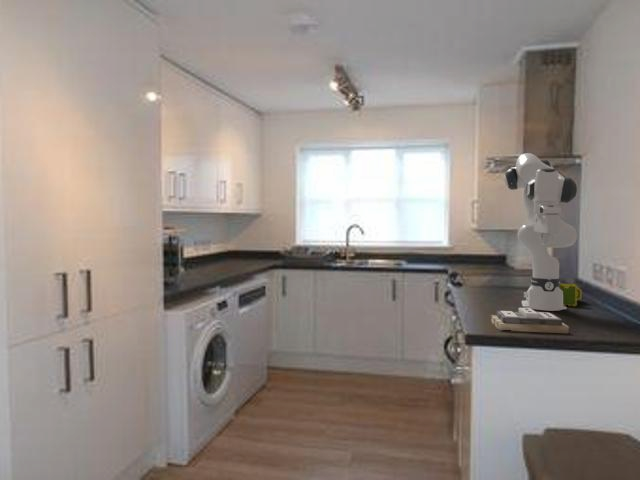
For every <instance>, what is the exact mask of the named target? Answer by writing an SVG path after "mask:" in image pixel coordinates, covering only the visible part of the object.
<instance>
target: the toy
mask: <svg viewBox="0 0 640 480" xmlns="http://www.w3.org/2000/svg"><path fill="white" fill-rule="evenodd" d="M559 288H560V289H561V290H562V291H563V306H567V305H568V307H577V305H578V300H582V296H583V295H582V293H583V290H582V289H580V287H579V286H578V285H577V284H573V283H569V284H568V283H560V286H559Z"/></svg>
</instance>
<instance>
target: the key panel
mask: <svg viewBox="0 0 640 480" xmlns="http://www.w3.org/2000/svg"><path fill="white" fill-rule="evenodd" d="M500 311H501V310H496V312H495V313H496V314H495V315H494V314H491V315H490V322H491V323H492V325H494V326H495V327H496V328H497V330H498V329H499V330H498V331H503V330H511V331H510V332H528V333H530V332H531V333H551V334H552V333H553V334H554V333H555V334H569V329H570V327H569V326H568V325H567V324H565V323H564V322H563V319H562V318H560V317H558V316H557V315H555V314H554V313H552V312H550V313H551V314H552V315H554V316H555V317H557V318H558V319H544V318H543V317H542V316H540V315H539V314H538V319H535V318H524V317H523V316H522V315H521V314H519V313H518V311H512V312H513V313H514V314H516V315H517V316H518V318H510V317H504V316H503V315H502V314H501V313H500Z"/></svg>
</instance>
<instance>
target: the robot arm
mask: <svg viewBox="0 0 640 480" xmlns="http://www.w3.org/2000/svg"><path fill="white" fill-rule="evenodd" d="M503 179H504V183H505V185H506V186H507V188H508V189H509V190H512V191H513V190H514V191H515V190H518V189H522V192H521V194H522V195H521V197H522V198H521V199H522V203H523V207H524V210H525V214H526V218H527V220H528V221H529V222H530V223H527V224H523V225H521V226H520V228H519V229H518V231H517V239H518V243H520V244H521V246H523V248H525V249H526V251H528V253H529V256H530V257H531V262H532V264H531V265H532V276H531V279H530V286H529V288H528V289H527V291H526V292H525V291H524V292H523V298H525V300H521V305H522V308H531V309H532V310H539V311H550V312H551V311H552V312H554V311H557V312H558V311H559V312H560V311H562V310H567V306H566V305H564V306H563V291H562V290H561V289H560V288H559V286H560V284H561V279H560V262H559V260H558V258H556V257H554V256H553V255H550V254H549V251H548V249H549V248H551V249H552V248H553V249H555V248H556V249H561V248H562V249H563V248H568V247H572V246H573V245H574V244H575V243H576V241H577V238H578V233H577V229H575V227H574V226H573V225H571V224H569V223H566V222H565V221H563V219H561V218H560V217H561V214H562V208H561V207H560V205H559V204H560V203H566V204H567V203H569V202H571V201H572V200H574V199H575V198H576V196H577V193H578V190H577V189H578V188H577V184H576V181H574V180H573V179H572V178H571V177H567V176H566V175H564V174H563V173H561V171H560V170H558V169H556V168H554V167H553V165H552V164H551V163H550V161H549V160H548V159H541V158H539V157H538V156H537V155H535V153H534V154H533V153H530V152H525V153H522V154H520V155H519V156H518V158H517V159H516V162H515V167H513V166H512V167H510V168H509V169H507V170H506V171H505V172H504V178H503Z"/></svg>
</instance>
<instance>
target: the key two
mask: <svg viewBox="0 0 640 480" xmlns="http://www.w3.org/2000/svg"><path fill="white" fill-rule="evenodd" d="M517 312H518V313H519V314H521V315H522V316H523V317H524V318H535V319H538V313H537V312H538V311H535V309H531V308H524V307H518V311H517Z"/></svg>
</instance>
